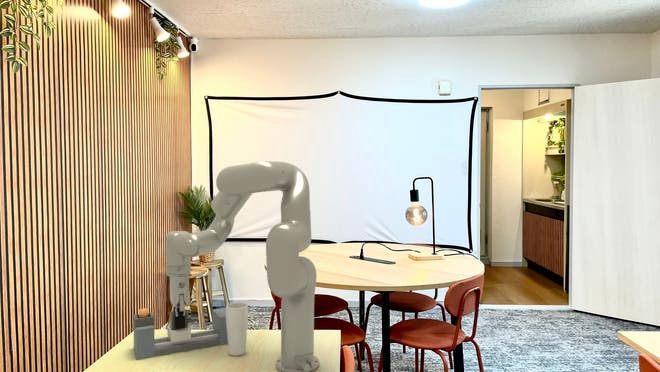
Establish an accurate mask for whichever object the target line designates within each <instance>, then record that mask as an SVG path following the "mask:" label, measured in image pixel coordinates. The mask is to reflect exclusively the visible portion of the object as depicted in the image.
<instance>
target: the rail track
mask: <svg viewBox="0 0 660 372" xmlns="http://www.w3.org/2000/svg"><path fill="white" fill-rule="evenodd" d="M211 312H212V313H211V314H212V316H211V317H212V318H211V319H212V321H211V322H212V323H211V325H212V328H211V329H208V330H207V329H206V330H200V331H194V332H191V339H190V340H184V341H178V342H172V343H171V341H170V339H169V337H168V336H162V337H156V338H155V317H154V314H153V312H152V311H151V312H149V317H145V318H139V313H137V314H136V313H135V314H133V351H134V354H135V359H136V361H139V360H143V359H149V358H154V357H160V356H161V357H162V356H167V355H171V354H177V353H178V354H179V353H182V352H188V351H195V350H199V349H206V348H211V347H216V346H224V345H228V339H227V328H226V307H222V308H221V307H220V308H215V309H214V308H213V309H212V311H211Z"/></svg>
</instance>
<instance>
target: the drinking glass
mask: <svg viewBox="0 0 660 372" xmlns="http://www.w3.org/2000/svg"><path fill="white" fill-rule="evenodd" d="M248 306H249V305H248V303H246V302H231V303H228V304H226V306H225V308H226V328H227V339H228V344H227V352H228V354H229V355H230V356H232V357H236V356H237V357H238V356H242V355H244V354H246V350H247V349H246V348H247V347H246V346H247V334H248V333H247V332H248V322H249V320H248V319H249V309H248V308H249V307H248Z"/></svg>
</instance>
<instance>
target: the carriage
mask: <svg viewBox="0 0 660 372" xmlns="http://www.w3.org/2000/svg"><path fill="white" fill-rule="evenodd" d="M175 316H176V315H175V312H173V311H170V312H169V324H168V325H167V327H166V332H167V337H169V339H170V341H171V343H172V342H178V341H184V340H190V339H191V333H192V329H191V328H190V326H189V320H188V319H189V317H188V316H189V313H188V311H187V309H185V328H180V329H175Z"/></svg>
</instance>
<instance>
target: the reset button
mask: <svg viewBox="0 0 660 372" xmlns="http://www.w3.org/2000/svg"><path fill="white" fill-rule="evenodd" d="M149 313H150V312H149V308H148V307H144V308H140V309H138V314H139V318H145V317H149Z"/></svg>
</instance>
